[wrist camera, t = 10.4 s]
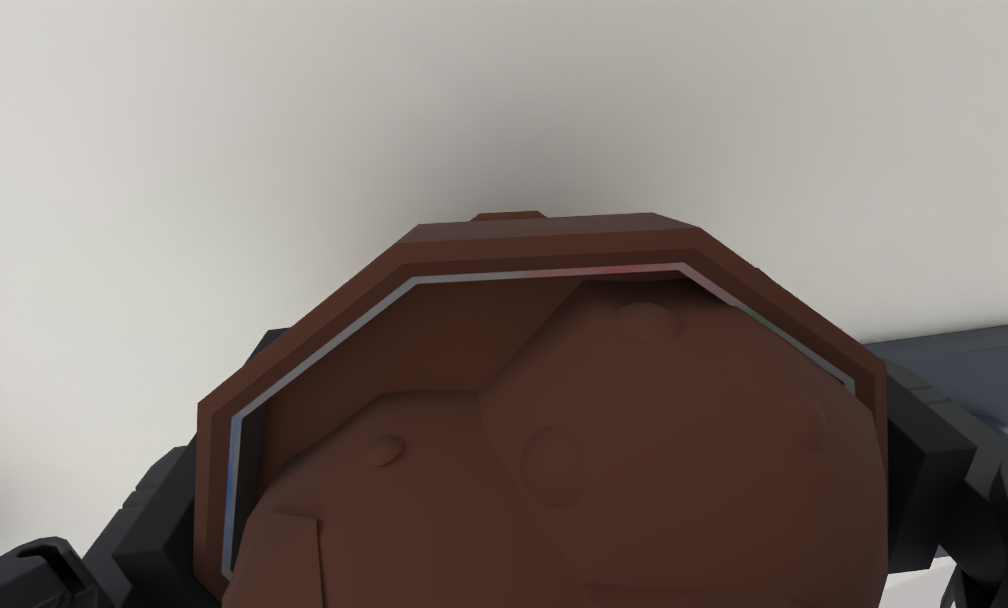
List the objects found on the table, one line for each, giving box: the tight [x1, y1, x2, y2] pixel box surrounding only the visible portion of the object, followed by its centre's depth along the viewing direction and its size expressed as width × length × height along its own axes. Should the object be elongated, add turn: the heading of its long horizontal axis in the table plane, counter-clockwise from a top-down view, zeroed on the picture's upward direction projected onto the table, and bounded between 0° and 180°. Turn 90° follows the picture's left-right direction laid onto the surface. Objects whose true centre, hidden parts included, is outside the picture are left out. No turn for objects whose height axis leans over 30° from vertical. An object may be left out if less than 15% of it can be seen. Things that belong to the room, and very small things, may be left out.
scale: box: [863, 325, 1008, 558], centre depth 24 cm, size 18×13×3 cm
